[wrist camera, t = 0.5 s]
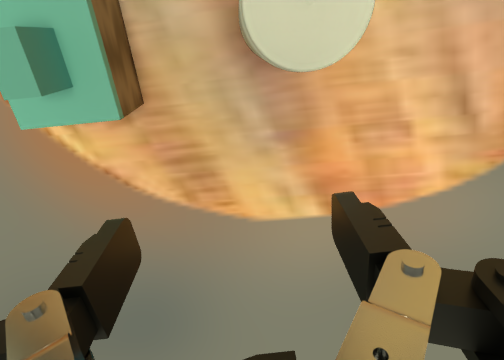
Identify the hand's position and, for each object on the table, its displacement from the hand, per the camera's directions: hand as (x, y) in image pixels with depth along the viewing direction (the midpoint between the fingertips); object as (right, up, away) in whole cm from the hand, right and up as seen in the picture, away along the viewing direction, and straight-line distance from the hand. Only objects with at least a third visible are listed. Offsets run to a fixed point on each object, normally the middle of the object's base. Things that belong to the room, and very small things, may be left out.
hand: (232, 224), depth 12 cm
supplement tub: (+4, +20, +22) cm, 30 cm away
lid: (-18, +14, +17) cm, 28 cm away
